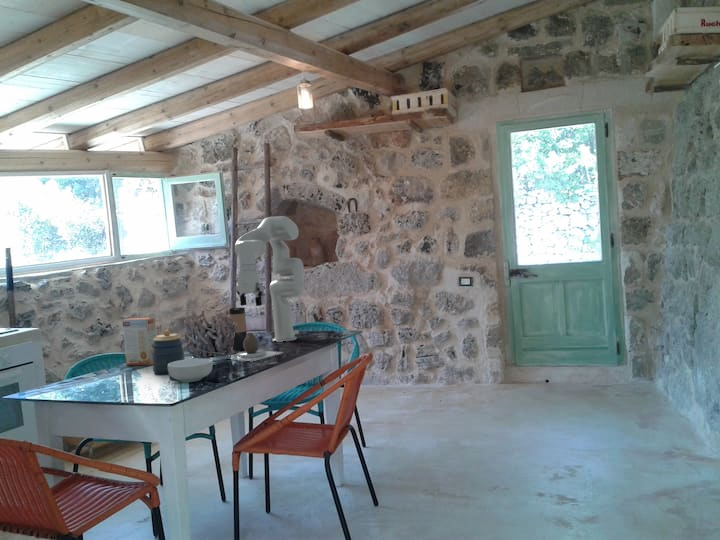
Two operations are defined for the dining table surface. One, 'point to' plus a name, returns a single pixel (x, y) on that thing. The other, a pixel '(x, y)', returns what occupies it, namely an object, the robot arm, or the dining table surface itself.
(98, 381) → the dining table surface
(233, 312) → the travel mug
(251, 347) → the vase
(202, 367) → the cereal bowl
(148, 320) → the cracker box
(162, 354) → the canister
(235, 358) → the flange plate
